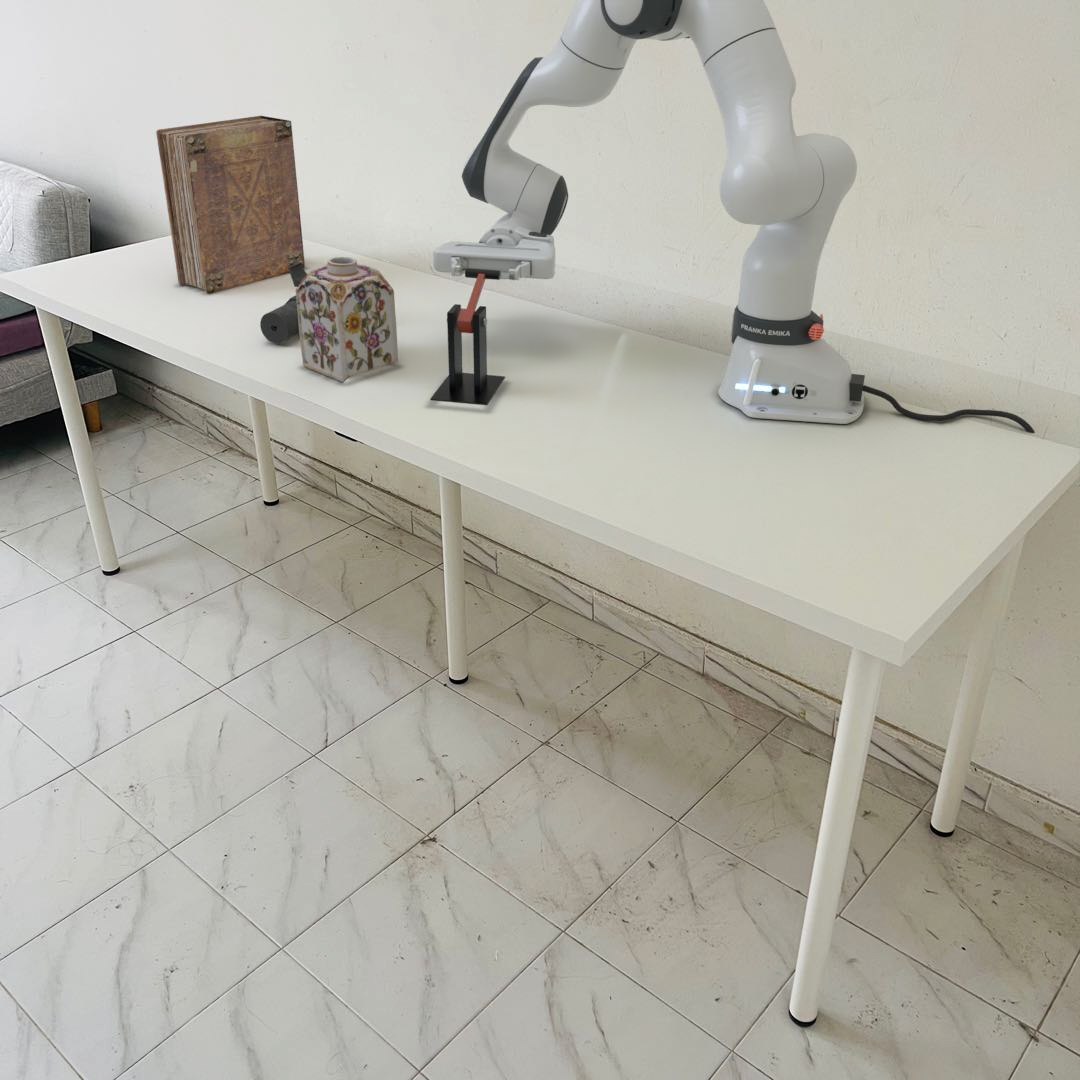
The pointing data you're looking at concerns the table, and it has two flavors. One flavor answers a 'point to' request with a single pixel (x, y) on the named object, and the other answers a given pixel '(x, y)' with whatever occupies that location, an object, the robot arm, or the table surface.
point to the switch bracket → (458, 383)
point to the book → (231, 201)
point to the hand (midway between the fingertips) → (484, 273)
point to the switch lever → (474, 297)
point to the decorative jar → (346, 319)
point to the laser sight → (284, 313)
